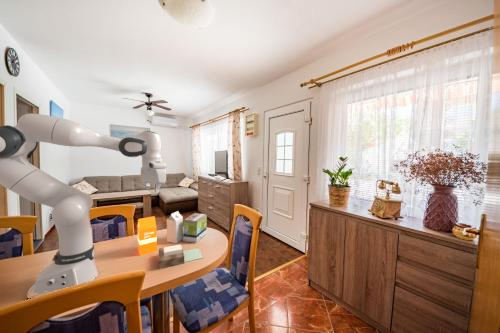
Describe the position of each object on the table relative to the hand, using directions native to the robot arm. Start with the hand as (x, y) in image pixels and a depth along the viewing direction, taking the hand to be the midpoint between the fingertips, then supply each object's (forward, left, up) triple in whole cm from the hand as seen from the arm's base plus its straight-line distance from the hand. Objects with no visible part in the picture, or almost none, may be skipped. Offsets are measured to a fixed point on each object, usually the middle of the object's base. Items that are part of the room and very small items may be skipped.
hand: (152, 190), depth 97 cm
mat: (+19, 0, -39) cm, 43 cm away
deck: (+8, 0, -39) cm, 39 cm away
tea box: (+25, +22, -39) cm, 51 cm away
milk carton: (+12, +23, -39) cm, 47 cm away
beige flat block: (+9, 0, -35) cm, 36 cm away
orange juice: (-4, +16, -39) cm, 42 cm away
